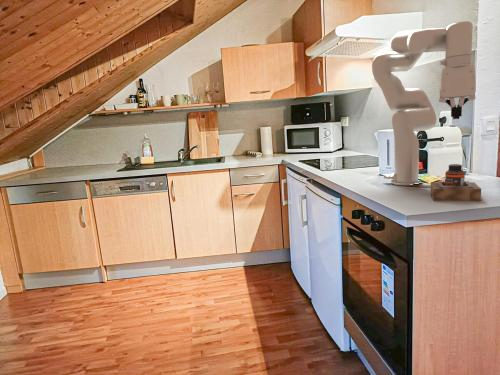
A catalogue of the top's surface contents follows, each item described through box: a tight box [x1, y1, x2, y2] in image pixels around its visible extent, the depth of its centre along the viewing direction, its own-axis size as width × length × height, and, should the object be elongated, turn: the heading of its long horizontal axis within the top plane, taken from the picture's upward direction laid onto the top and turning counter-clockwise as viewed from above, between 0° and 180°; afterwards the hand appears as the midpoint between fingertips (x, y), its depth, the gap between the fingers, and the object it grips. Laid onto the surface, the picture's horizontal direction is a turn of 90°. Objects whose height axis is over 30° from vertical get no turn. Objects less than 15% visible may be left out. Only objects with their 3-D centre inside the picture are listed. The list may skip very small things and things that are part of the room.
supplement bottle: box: [444, 163, 466, 186], centre depth 125 cm, size 6×6×11 cm
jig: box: [430, 180, 482, 202], centre depth 125 cm, size 14×12×5 cm
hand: (456, 118), depth 122 cm, fingers closed
